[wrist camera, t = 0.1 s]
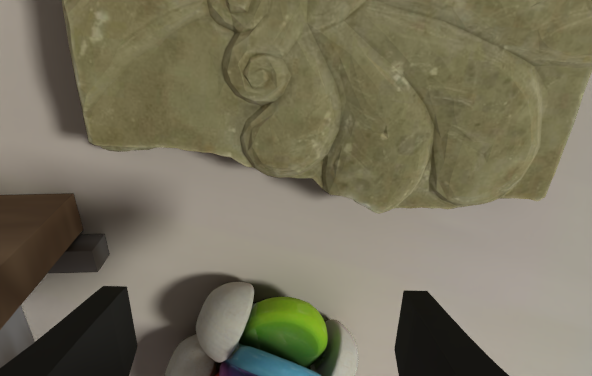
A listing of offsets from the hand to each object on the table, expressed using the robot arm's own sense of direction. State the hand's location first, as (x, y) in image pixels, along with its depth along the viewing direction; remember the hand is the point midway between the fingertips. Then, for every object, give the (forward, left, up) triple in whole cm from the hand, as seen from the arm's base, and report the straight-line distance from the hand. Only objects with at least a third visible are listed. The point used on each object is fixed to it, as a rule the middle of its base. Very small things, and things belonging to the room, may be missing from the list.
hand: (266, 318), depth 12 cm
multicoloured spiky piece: (-10, +1, -10) cm, 15 cm away
